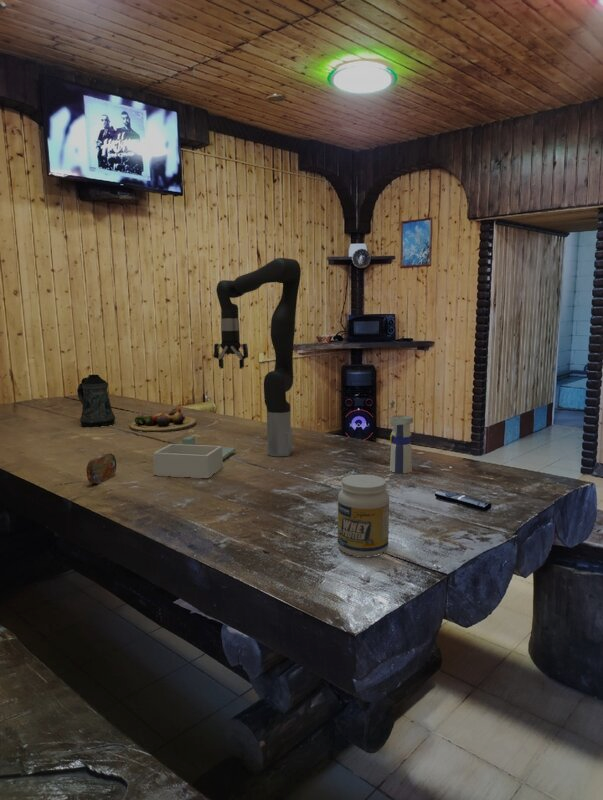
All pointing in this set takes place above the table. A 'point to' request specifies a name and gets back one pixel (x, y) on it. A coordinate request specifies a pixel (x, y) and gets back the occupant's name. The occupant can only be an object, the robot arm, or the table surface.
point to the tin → (101, 468)
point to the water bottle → (400, 443)
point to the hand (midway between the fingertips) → (231, 368)
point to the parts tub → (188, 461)
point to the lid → (225, 450)
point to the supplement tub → (363, 515)
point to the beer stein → (95, 402)
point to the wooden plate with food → (163, 422)
